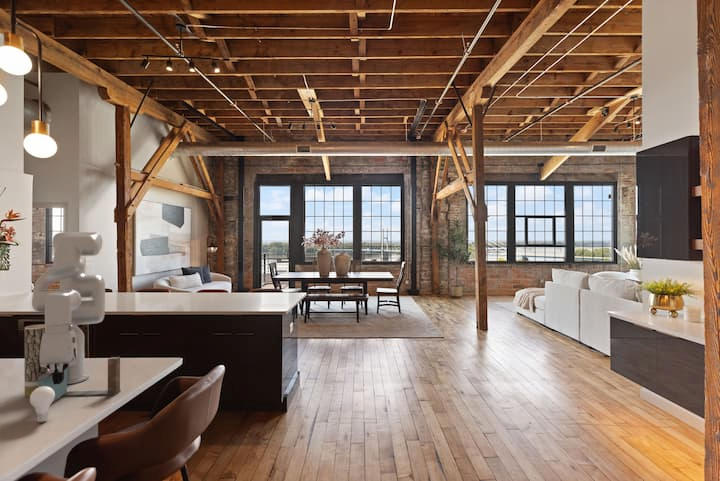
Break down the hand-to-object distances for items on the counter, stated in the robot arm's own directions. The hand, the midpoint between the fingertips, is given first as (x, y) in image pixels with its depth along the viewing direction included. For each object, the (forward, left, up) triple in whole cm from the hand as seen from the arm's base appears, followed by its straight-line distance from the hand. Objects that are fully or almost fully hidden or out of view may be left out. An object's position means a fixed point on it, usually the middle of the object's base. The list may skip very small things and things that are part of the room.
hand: (58, 383), depth 152 cm
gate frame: (+4, +11, -8) cm, 14 cm away
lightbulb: (+3, -14, -8) cm, 17 cm away
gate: (-3, +3, -7) cm, 8 cm away
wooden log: (-14, +12, -8) cm, 20 cm away
